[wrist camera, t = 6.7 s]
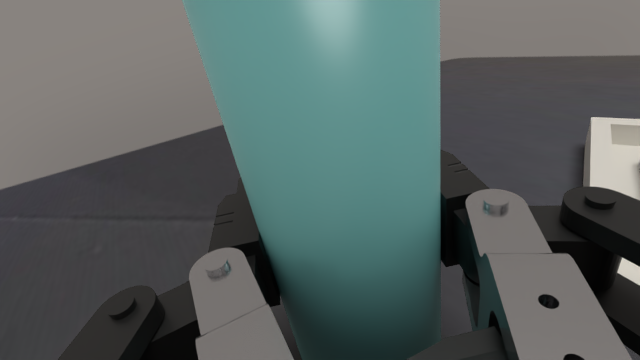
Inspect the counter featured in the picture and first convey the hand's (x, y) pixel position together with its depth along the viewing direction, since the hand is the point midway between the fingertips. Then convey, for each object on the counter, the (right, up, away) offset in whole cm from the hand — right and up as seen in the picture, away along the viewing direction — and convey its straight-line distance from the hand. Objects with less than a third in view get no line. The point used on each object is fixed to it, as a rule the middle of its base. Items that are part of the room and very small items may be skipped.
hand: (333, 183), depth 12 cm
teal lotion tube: (+2, -8, +2) cm, 8 cm away
